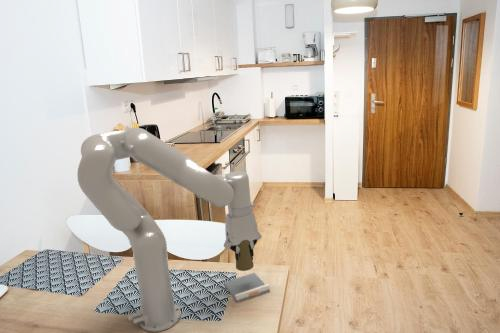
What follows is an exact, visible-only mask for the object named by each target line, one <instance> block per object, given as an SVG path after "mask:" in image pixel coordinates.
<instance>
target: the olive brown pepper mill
mask: <svg viewBox="0 0 500 333" xmlns="http://www.w3.org/2000/svg"><path fill="white" fill-rule="evenodd" d="M249 244H250V241H249V240H243V241H242V242H240V244H239V245H238V247H239V248H240V251H239V253H240V257H239V253H238V261H236V260H235V269H236V270H237V271H241V272H245V271H249V270H252V269H253V268H254V262H253V260H252V258H251V254H250V248H249Z"/></svg>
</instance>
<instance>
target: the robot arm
mask: <svg viewBox="0 0 500 333" xmlns="http://www.w3.org/2000/svg"><path fill="white" fill-rule="evenodd" d="M80 154H81V158H80V162H79V164H78V168H77V182H78V186H79V188H80V189H81V191H82V192H83V194H84V195H85V196H86V197H87V199H88V200H89V201H90V202H91V203H92V204H93V205H94V207H95V208H96V209H97V210H98V211H99V212H100V214H101V215H102V216H103V217H104V218H105V219H106V220H107V222H108V223H109V224H110V226H111V227H113V228H114V229H116V230H117V231H120V232H122V233H123V234H124V235H125V236H126V237H127V238H126V239H128V241H129V244H130V247H131V251H132V255H133V261H134V269H135V274H136V275H135V276H136V279H137V280H136V281H137V285H138V290H139V297H140V302H141V306H140V309H139V310H137V312H134V313H130V314H127V320H128V322H131V321H132V322H133V325H135V324H139V325H140V328H141V329H143V331H144V330H145V331H147V332H150V333H151V332H153V333H154V332H155V333H156V332H162V331H165V330H168V329H170V328H172V327H174V325H176V324H177V323H178V322H179V320H180V319H181V309H180V308H179V306H177V305H176V304H175V302H174V294H173V288H172V282H171V274H170V269H169V263H168V260H169V259H168V248H167V246H168V245H167V241H166V236H165V235H164V232H163V231H162V229H161V227H159V225H158V224H157V222H156V221H155V220H154V218H153V216H151V215H150V213H149V212H147V210H146V209H145V207H143V204H141V203H140V202H139V200H138V199H137V198H136V197H135V196H134V195H133V194H132V193H131V192H129V191H127V190H124V188H123V187H122V186H121V185H120V183H119V182H118V181H117V180H116V178H114V176H113V169H114V166H115V163H116V162H117V161H119V160H123V159H127V158H132V159H133V160H134V161H136V162H138V163H139V164H141V165H143V166H145V167H147V168H148V169H151V170H152V171H154V172H156V173H158V174H160V175H161V176H163V177H164V178H166V179H168V180H170V181H171V182H174V184H177V185H178V186H180V187H182V188H185V189H186V190H188V192H191V193H192V194H194V195H196V196H198V197H199V198H201V199H202V200H205V201H206V202H208V203H210V204H212V205H214V206H215V207H219V208H220V207H221V208H222V207H226V206H227V210H228V211H227V212H228V213H227V214H226V215H225V225H224V226H225V228H224V230H225V232H224V233H225V240H224V243H223V247H224V248H225V249H227V250H231V251H232V252H234V257H235V262H236V261H238V253H239V251H240V248H239V247H238V245H239V244H240V242H242V241H243V240H249V241H250V244H249V248H250V254H251V258H252V261H253V260H254V256H255V254H254V249H255V246H256V244H257V243H258V241H259V240H261V239H262V237H263V236H262V235H261V233H260V232H259V230H258V229H259V228H258V223H257V219H256V216H255V212H254V211H253V207H256V204H255V202H252V200H251V191H250V188H251V187H250V179H249V175H248V173H247V172H246V171H243V170H236V171H231V172H228V173H222V174H221V173H220V174H213V173H212V172H210V171H208V170H207V169H205V168H204V167H202V166H201V165H199V164H198V163H197V162H196V161H195V160H193V159H192V158H190V157H189V156H188V155H186V154H184V153H183V152H181V151H180V150H178V149H176V148H175V147H173V146H172V145H170V144H168V143H167V142H165V141H164V140H162V139H160V138H158V137H157V136H155V135H154V134H152V133H151V132H149V131H147V130H146V129H144V128H141V127H131V128H126V129H120V130H115V131H110V132H103V133H96V134H93V135H90V136H88V137H87V138H85V139H84V140H83V142H82V143H81V146H80ZM239 257H240V253H239Z"/></svg>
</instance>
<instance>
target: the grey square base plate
mask: <svg viewBox="0 0 500 333" xmlns="http://www.w3.org/2000/svg"><path fill="white" fill-rule="evenodd" d="M223 286H224V287H225V289H226V290H227V291H228V293H229V294H230V295H231V297H232V298H233V300H234V301H235V302H236V303H237V304H238V303H241V302H244V301H247V300H250V299H253V298H256V297H260V296H261V295H264V294H267V293H270V291H271V290H270V287H271V286H270V284H269V283H265V282H264V281H263V280H262V279H261V278H260V277H259V276H258V275H257V274H256V273H255V272H252V273H249V274H246V275H243V276H239V277H237V278H233V279H231V280H227V281H224V282H223Z"/></svg>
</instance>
